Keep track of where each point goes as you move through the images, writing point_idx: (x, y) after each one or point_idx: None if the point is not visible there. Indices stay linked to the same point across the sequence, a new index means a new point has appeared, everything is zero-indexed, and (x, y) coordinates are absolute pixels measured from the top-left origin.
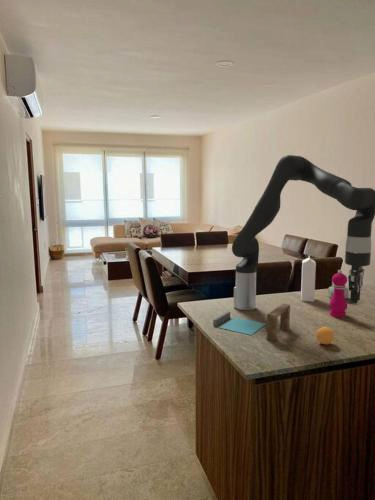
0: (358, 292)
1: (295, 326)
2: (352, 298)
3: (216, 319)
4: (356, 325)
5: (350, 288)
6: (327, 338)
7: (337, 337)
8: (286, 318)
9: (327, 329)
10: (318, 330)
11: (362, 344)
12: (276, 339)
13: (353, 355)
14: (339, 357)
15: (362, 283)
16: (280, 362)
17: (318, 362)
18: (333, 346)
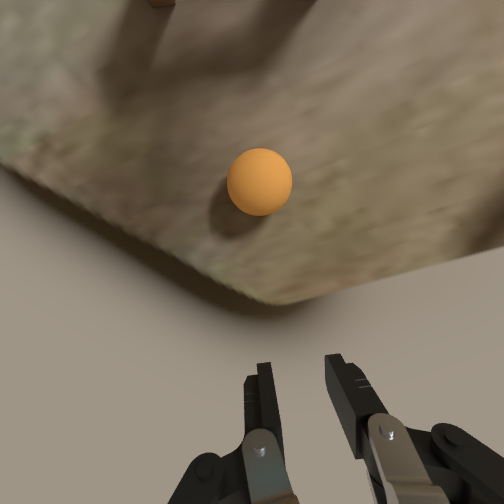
0: (346, 429)
1: (364, 3)
2: (245, 400)
3: None
4: (487, 209)
5: (188, 495)
6: (233, 202)
7: (338, 195)
8: None
9: (253, 196)
10: (245, 160)
11: (324, 274)
12: (171, 4)
13: (229, 279)
14: (188, 254)
15: (470, 497)
16: (14, 124)
17: (111, 221)
18: None
